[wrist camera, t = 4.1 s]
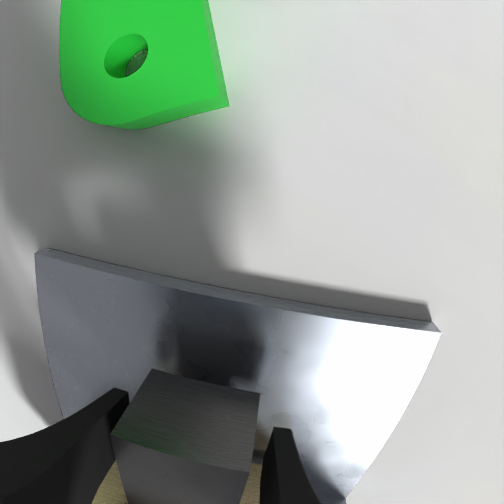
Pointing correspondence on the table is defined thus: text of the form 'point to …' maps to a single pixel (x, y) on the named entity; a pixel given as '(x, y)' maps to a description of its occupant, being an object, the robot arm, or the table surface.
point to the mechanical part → (153, 69)
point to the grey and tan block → (184, 445)
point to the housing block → (236, 356)
